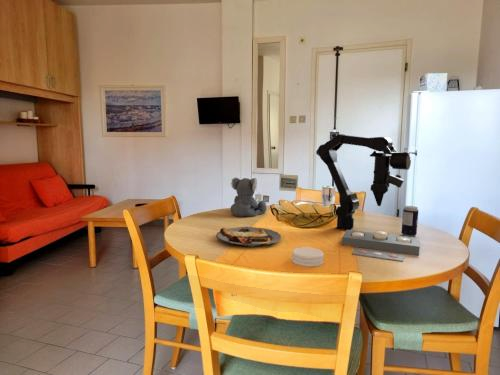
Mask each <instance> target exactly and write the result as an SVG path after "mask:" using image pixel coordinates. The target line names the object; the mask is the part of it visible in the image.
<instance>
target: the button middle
mask: <svg viewBox="0 0 500 375" xmlns="http://www.w3.org/2000/svg"><path fill="white" fill-rule="evenodd" d="M373 233H374V239H383V240H387V234H388V233H387V231H381V230H376V231H374V232H373Z"/></svg>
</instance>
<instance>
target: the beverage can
mask: <svg viewBox="0 0 500 375" xmlns="http://www.w3.org/2000/svg"><path fill="white" fill-rule="evenodd" d="M403 207H404V208H403V209H402V220H401V231H400V232H401V234H402V236H407V237H416V235H418V234H417V232H418V222H419V209H418V207H417V206H413V205H405V206H403Z"/></svg>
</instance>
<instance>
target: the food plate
mask: <svg viewBox="0 0 500 375" xmlns="http://www.w3.org/2000/svg"><path fill="white" fill-rule="evenodd" d="M215 237H216V238H217V240H221V241H222V242H224V243H228V245H229V244H231V245H233V244H235V245H237V246H239V245H241V246H244V247H251V248H253V247H256V246H262V245H270V244H275V243H278V241H279V240H280V239H281V238H282V235H281V234H280V233H279V232H278V231H275V230H273V229H269V228H264V227H254V226H239V227H238V226H237V227H232V228H226V227H222V228H220V230H219V231H218V232H217V233H216V235H215Z"/></svg>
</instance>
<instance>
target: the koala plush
mask: <svg viewBox="0 0 500 375" xmlns="http://www.w3.org/2000/svg"><path fill="white" fill-rule="evenodd" d="M230 184H231V185H230V186H231V188H232V189H233V190H235V191H236V194H237V195H236V196H234V200H233V201H234V203H233V204H231V205H230V209H229V210H230V211H231V213H232V215H233V216H235V217H240V218H241V217H248V218H249V217H250V218H251V217H256V216H260V215H263V214H265V213H266V212H267V203H266V201H265V200H260V201H258V202H257V200H256V198H254V197H253V196H254V194H255V192H256V189H257V187H258V186H257V184H258V178H256V177H253V178H250V179H249V178H247V177H244V178H241V179H240V178H238V177H234V178H231V182H230Z"/></svg>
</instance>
